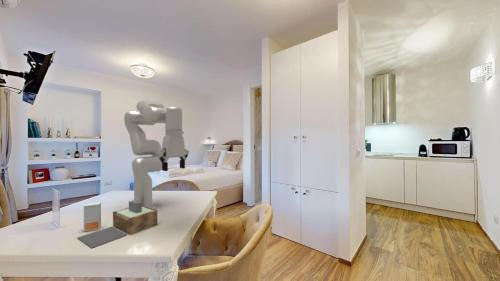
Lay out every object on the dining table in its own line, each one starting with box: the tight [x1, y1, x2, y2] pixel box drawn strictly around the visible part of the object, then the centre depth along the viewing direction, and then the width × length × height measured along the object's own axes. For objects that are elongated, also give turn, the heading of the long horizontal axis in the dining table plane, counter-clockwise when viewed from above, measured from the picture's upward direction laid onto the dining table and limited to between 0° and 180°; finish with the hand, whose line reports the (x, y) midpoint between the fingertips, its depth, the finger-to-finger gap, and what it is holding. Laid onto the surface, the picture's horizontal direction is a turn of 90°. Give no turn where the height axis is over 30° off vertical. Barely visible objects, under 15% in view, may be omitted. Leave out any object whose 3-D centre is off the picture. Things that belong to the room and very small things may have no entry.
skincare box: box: [83, 201, 102, 233], centre depth 97 cm, size 6×4×12 cm
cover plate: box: [116, 199, 155, 219], centre depth 101 cm, size 11×13×6 cm
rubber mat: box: [76, 226, 128, 249], centre depth 89 cm, size 15×13×1 cm
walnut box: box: [112, 206, 158, 236], centre depth 101 cm, size 13×16×7 cm
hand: (174, 169), depth 98 cm, fingers open, 9 cm apart
